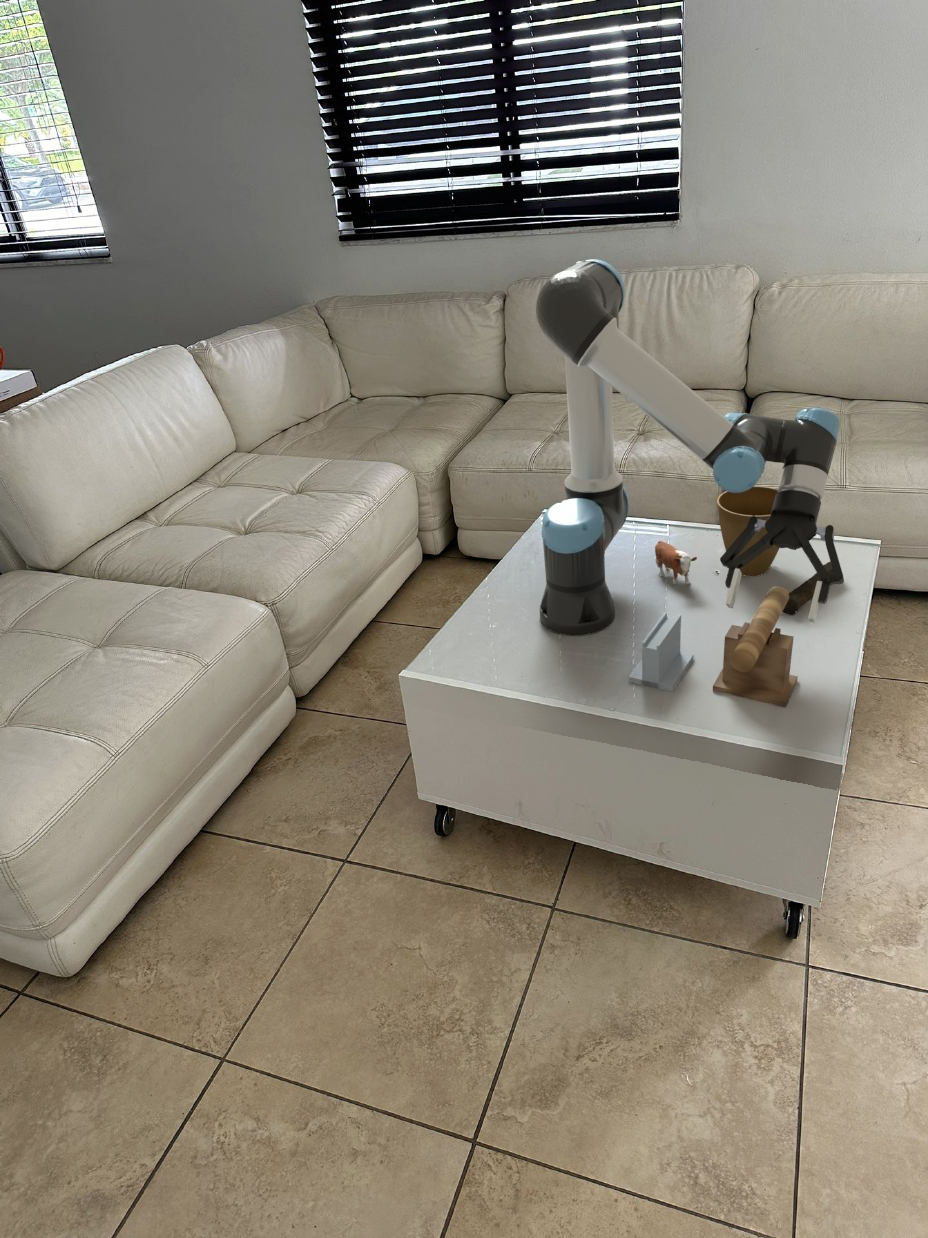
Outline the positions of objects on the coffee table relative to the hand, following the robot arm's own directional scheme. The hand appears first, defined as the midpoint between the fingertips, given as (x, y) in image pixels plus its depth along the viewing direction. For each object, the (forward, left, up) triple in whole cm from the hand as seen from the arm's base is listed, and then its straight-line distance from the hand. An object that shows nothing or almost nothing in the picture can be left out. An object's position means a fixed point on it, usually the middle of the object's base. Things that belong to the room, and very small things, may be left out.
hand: (769, 613), depth 137 cm
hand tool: (+1, +28, -12) cm, 30 cm away
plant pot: (-12, +35, -11) cm, 39 cm away
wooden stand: (0, -6, -11) cm, 13 cm away
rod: (0, -6, -1) cm, 6 cm away
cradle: (-16, -8, -11) cm, 21 cm away
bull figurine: (-25, +25, -11) cm, 37 cm away
